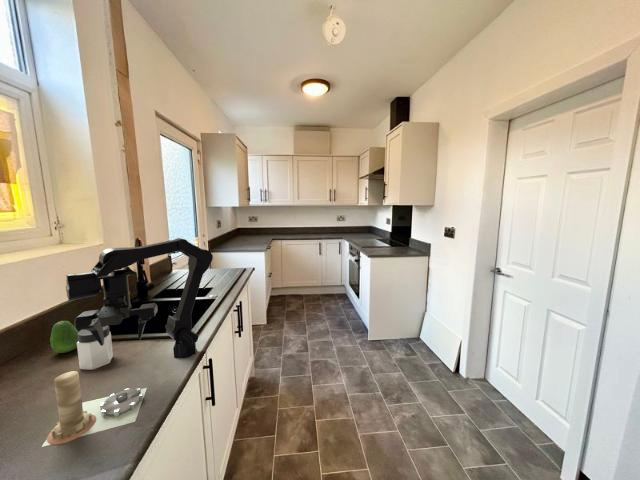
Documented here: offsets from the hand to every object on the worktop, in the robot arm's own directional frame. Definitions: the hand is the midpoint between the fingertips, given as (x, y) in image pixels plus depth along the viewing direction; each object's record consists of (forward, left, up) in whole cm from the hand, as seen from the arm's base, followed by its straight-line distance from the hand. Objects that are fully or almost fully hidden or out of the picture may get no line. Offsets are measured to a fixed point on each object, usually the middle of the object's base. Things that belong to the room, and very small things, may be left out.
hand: (121, 341), depth 77 cm
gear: (-3, +12, -12) cm, 17 cm away
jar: (+12, -16, -13) cm, 24 cm away
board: (+1, +14, -13) cm, 19 cm away
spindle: (+6, +17, -12) cm, 21 cm away
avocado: (+25, -29, -13) cm, 41 cm away
